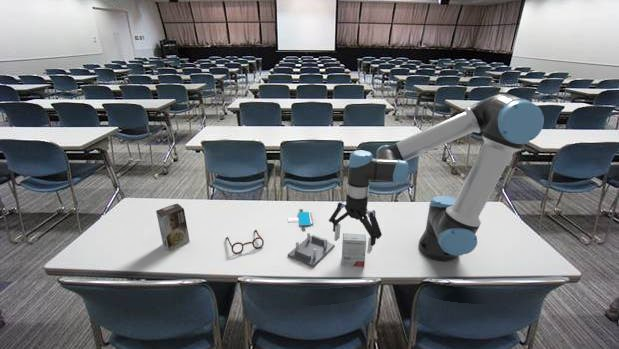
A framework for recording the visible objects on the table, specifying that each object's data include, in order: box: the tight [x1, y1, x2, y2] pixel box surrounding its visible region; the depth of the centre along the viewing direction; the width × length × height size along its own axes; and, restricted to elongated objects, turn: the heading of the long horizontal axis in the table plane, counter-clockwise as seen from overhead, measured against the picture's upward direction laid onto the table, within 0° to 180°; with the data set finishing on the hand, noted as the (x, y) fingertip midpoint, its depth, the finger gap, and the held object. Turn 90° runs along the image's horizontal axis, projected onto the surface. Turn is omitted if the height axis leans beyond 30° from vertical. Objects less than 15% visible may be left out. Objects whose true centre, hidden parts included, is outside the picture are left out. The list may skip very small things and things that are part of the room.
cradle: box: [287, 232, 335, 268], centre depth 130 cm, size 12×16×5 cm
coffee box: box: [155, 203, 190, 251], centre depth 133 cm, size 9×6×16 cm
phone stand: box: [287, 208, 314, 232], centre depth 154 cm, size 20×12×2 cm, turn 5°
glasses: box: [225, 229, 265, 255], centre depth 136 cm, size 13×13×5 cm
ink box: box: [341, 232, 367, 268], centre depth 123 cm, size 9×5×12 cm, turn 84°
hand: (352, 245), depth 122 cm, fingers open, 13 cm apart
